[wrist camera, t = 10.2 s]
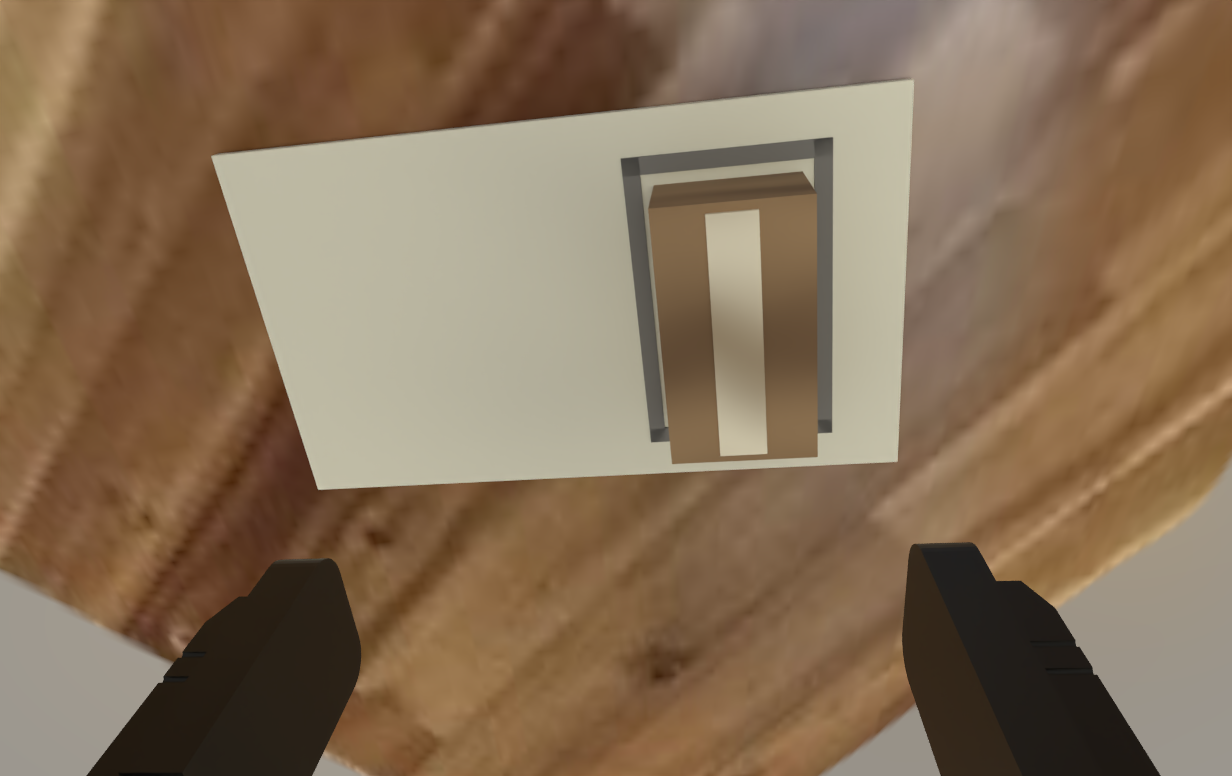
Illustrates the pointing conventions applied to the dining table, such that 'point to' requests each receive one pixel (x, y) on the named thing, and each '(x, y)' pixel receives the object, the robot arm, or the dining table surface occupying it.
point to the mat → (555, 283)
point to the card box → (738, 316)
